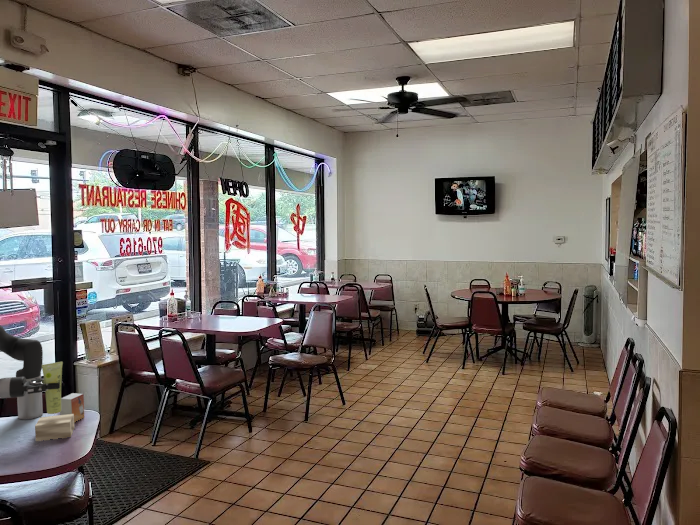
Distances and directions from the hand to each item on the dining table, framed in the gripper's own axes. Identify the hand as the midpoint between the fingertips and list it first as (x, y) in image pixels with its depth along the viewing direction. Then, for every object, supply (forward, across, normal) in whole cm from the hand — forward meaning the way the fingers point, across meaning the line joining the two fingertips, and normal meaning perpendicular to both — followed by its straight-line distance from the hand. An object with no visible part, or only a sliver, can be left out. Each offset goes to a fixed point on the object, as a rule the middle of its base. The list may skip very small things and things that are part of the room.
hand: (60, 383), depth 220 cm
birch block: (-2, 0, +20) cm, 20 cm away
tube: (-3, 0, +11) cm, 12 cm away
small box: (+2, +15, +20) cm, 25 cm away
